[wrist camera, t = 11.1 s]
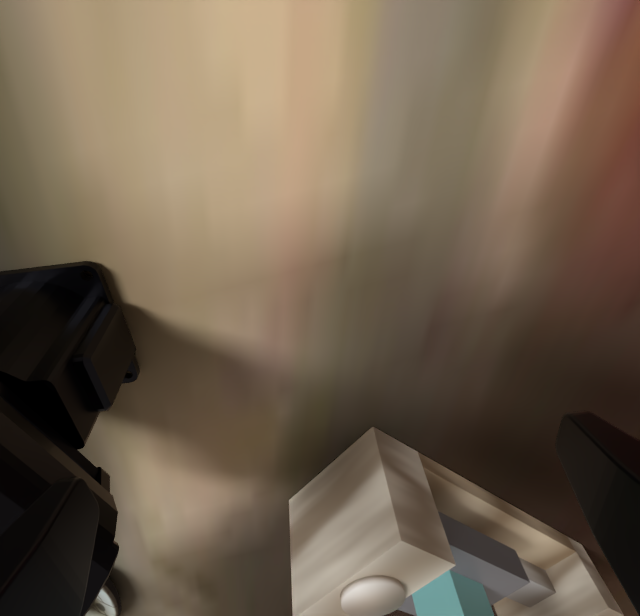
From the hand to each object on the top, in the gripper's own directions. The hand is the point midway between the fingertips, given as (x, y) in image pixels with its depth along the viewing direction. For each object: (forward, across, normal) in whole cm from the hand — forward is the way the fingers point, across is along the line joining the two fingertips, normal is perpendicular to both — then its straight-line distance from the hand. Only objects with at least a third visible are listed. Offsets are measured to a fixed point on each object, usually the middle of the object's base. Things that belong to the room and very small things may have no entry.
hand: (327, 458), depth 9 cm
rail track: (+13, -8, +24) cm, 28 cm away
